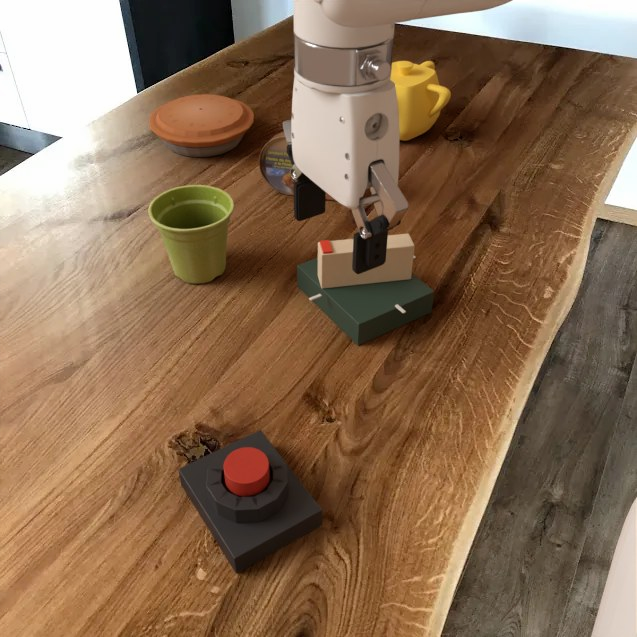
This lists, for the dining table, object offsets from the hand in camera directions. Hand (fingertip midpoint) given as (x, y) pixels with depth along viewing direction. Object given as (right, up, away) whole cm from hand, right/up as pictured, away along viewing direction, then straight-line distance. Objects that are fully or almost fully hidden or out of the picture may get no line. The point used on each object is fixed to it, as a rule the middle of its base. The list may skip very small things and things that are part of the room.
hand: (338, 240), depth 67 cm
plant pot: (-16, -1, +19) cm, 25 cm away
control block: (-8, -23, -5) cm, 25 cm away
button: (-8, -20, -8) cm, 23 cm away
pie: (-19, +20, +44) cm, 52 cm away
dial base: (+3, -5, +15) cm, 16 cm away
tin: (-2, +10, +33) cm, 34 cm away
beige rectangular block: (+3, -3, +13) cm, 14 cm away
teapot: (+11, +22, +47) cm, 53 cm away
